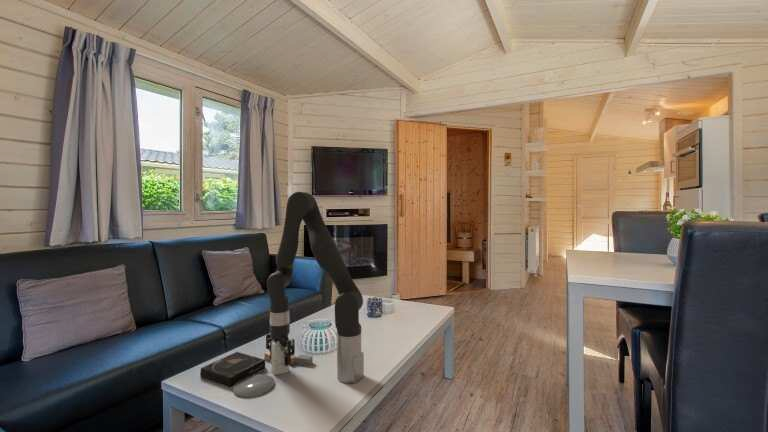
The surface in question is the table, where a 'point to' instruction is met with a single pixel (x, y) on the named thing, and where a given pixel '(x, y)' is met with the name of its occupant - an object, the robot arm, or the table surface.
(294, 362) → the tan brick
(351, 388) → the table surface
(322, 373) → the table surface
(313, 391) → the table surface
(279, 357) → the skincare box
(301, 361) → the gray brick
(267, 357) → the terracotta brick
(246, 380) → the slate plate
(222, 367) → the portable cd player
